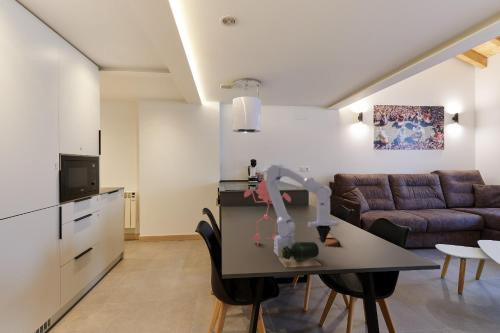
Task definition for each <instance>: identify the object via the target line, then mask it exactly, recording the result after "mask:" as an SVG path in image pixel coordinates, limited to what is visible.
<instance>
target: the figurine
mask: <svg viewBox="0 0 500 333" xmlns="http://www.w3.org/2000/svg"><path fill="white" fill-rule="evenodd" d="M257 188H258V189H256V190H255V193H256V194H257V195H258V196H257V197H258V199H260V200H261V201H256V198H255V194H254V191H253V188H252V187H251V188H249V189H247V190H246V191H245V192H244V193H243V195H244V198H247V197H249V196H250V195H252V197H253V200H254V203H266V205H267V210H266V213H265V214H264V215H263V217H262V218H261V219H259V220H257V223H258V222H261V220H268V219H270V220H271V221H272V222H274V223H275V225H277V222H276V221H275V220H274V219H272V218H270V216H269V215H268V211H269V208H270V204H271V205H273V203H272V201H271V198H270V195H269V192H268V189H267V187H266V179H262V180H261V182H260V183H258V184H257ZM281 197H282V198H283V199H285V200H286V201H287V202H289V203H291V201H292V198H291V196H290V195H289V194H288V193H286V192H284V193H283V194H282V195H281ZM258 229H259V228H258V226H256V231H257V232H256V234H255V235H254V236H253V238H252V239H250V240H253V241H254V242H255V243H257V244H256V245H257V246H259V240H260V239H261V233H259V230H258ZM274 229H275V230H274V233H273V234H272V236H271V238H270V237H267V239H270V240H271V239H272V240H273V241H274V238H275V236H278V235H279V234H276V231H277V226H274Z"/></svg>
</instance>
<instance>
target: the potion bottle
mask: <svg viewBox="0 0 500 333" xmlns="http://www.w3.org/2000/svg"><path fill="white" fill-rule="evenodd" d="M319 253H320V250H319V245H318V244H317V243H316V242H315V241H303V242H302V241H299V242H296V241H294V244H293V245H292V249H290V248H289V247H288V246H285V247H283V249H279V256H278V258H283V257H284V258H285V259H288V260H289V259H290V257H294V259H295V260H298V261H301V260H305V259H309V258H316V257H318V256H319Z"/></svg>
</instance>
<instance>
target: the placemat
mask: <svg viewBox="0 0 500 333" xmlns="http://www.w3.org/2000/svg"><path fill="white" fill-rule="evenodd" d="M277 259H278V260H279V261H280V263H281V264H282V265H283V266H284V268H285V269H287V268H299V267H314V266H317V267H319V266H321V265H322V263H319V262H318V261H317V260H316V259H315V257H313V258H309V259H305V260H301V261H298V260H295V259H294V257H293V256H290V259H289V260H288V259H285V258H284V257H283V258H280V257H277Z"/></svg>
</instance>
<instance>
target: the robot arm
mask: <svg viewBox="0 0 500 333" xmlns="http://www.w3.org/2000/svg"><path fill="white" fill-rule="evenodd" d="M265 174H266V178H265V181H266V187H267V189H268V192H269V195H270V198H271V201H272V202H271V201H270V202H271V203H273V204H272V206H273V208H274V211H275V214H276V217H277V220H276V223H277V224H276V226H277V233H278V234H277V235H278V236H275V238H274V240H273V241H274V242H273V252H274V253H275V254H276V256H277V257H279V249H283V247H285V246H288V247H289V248H290V249H292V245H293V244H294V243H295V233H294V232H295V231H296V229H297V228H296V227H297V225H296V223H295V221H294V220H293V219H292V216H290V215H289V213H288V210H287V209H286V206H285V203H284V200H283V197H282V195H281V192H280V189H279V187H278V183H279V181H280V180H281V179H282V178H285V177H286V178H287V177H288V178H289V179H291V180H293V181H295V182H297V183H299V184H301V186H302V188H303V189H304V190H306V191H308V192H310V193H311V194H313V195H316V198H317V202H316V206H317V207H316V217H317V218H316V221H308V222H307V227H308V228H314V227H315V228H316V230H317V233H318V237H319V236H320V239H319V240H320V243H322V244H323V243H325V242H326V238H327V235H328V233H329V232H330V231H331V229H332V227H339V226H340V225H339V224H340V222H339V221H337V220H331V195H332V189H331V188H330V187H329V186H328V185H324V183H320V182H319V181H316V180H315V178H314V177H304V176H302V175H301V174H299V173H298V172H296V171H294V170H293V169H291V168H289V167H287V166H285V165H283V164H270V165H269V166H268V167H267V169H266V171H265Z"/></svg>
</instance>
